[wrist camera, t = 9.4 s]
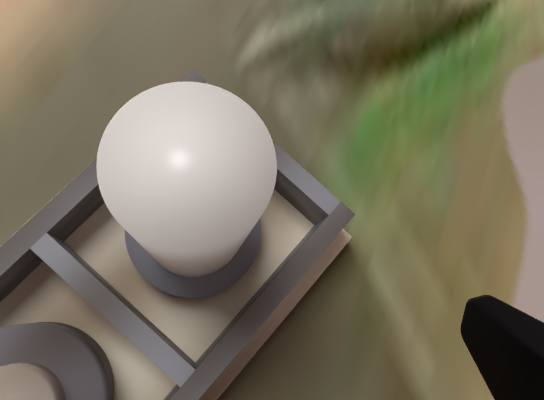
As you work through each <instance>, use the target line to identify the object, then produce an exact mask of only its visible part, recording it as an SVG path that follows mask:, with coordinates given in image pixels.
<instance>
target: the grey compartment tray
mask: <svg viewBox="0 0 544 400" xmlns="http://www.w3.org/2000/svg"><path fill="white" fill-rule="evenodd" d="M184 81H188V82H200V83H205V84H209V83H208V82H207V81H206V80H205V79H204V78H202V77H201V76H200V75H199V74H198V73H197V72H196V71H195V70H192V71H191V72H190V73H189V74H188V75H187V76H185V77H184V78H183V79H182V80H181V81H180V82H184ZM272 141H273V140H272ZM273 145H274V148H275V153H276V160H277V175H276V183H275V187H274V190H273V194H272V196H271V199H270V201H269V204H268V205H267V207H266V209H265V211H264V212H263V214H262V215H261V217H260V221H261V240H260V245H259V249H258V252H257V254H256V257H255V259H254V261H253V263H252V264H251V266H250V268H249V269H248V270H247V272H246V273H245V274H244V275H243V276H242V277H241V278H240V279H239V280H238V281H237V282H235V283H234V284H233V285H232V286H230V287H229V288H227V289H225V290H223V291H222V292H219V293H217V294H214V295H211V296H207V297H202V298H184V297H178V296H174V295H171V294H169V293H166V292H164V291H161V290H160V289H158V288H156V287H155V286H153V285H152V284H150V283H149V282H148V281H147V280H146V279H145V278H144V277H143V276H142V275H141V274H140V273H139V272H138V270H137V269H136V268H135V266H134V264H133V263H132V261H131V259H130V256H129V254H128V251H127V247H126V242H125V229H124V228H123V227H122V226H121V225H120V224H119V223H118V222H117V221H116V219H115V218H114V217H113V215H112V214H111V213H110V211H109V209H108V208H107V206H106V204H105V202H104V200H103V197H102V195H101V192H100V189H99V184H98V180H97V169H96V164H97V158H96V159H95V160H94V161H93V162H92V163H91V164H89V165H88V166H87V167H86V168H85V169H84V170H83V171H82V172H81V173H80V174H79V175H78V176H76V177H75V178H74V179H73V180H72V181H71V182H70V183H69V184H68V185H67V186H66V187H64V188H63V189H62V190H61V191H60V192H59V193H58V194H57V195H56V196H55V197H54V198H53V199H51V200H50V201H49V202H48V203H47V204H46V205H45V206H44V207H43V208H42V209H41V210H39V211H38V212H37V213H36V214H35V215H34V216H33V217H32V218H31V219H30V220H29V221H28V222H26V223H25V224H24V225H23V226H22V227H21V228H20V229H19V230H18V231H17V232H16V233H14V234H13V235H12V236H11V237H10V238H9V239H8V240H7V241H6V242H5V243H4V244H2V245H1V246H0V400H217V399H218V398H219V397H220V396H221V394H222V393H223V392H224V391H225V390H226V388H227V387H228V386H229V385H230V384H231V382H232V381H233V380H234V379H235V378H236V376H237V375H238V374H239V373H240V372H241V370H242V369H243V368H244V367H245V366H246V364H247V363H248V362H249V361H250V360H251V358H252V357H253V356H254V355H255V354H256V352H257V351H258V350H259V349H260V348H261V346H262V345H263V344H264V343H265V341H266V340H267V339H268V338H269V337H270V335H271V334H272V333H273V332H274V331H275V329H276V328H277V327H278V326H279V325H280V323H281V322H282V321H283V320H284V319H285V317H286V316H287V315H288V314H289V313H290V311H291V310H292V309H293V308H294V307H295V305H296V304H297V303H298V302H299V301H300V299H301V298H302V297H303V296H304V295H305V293H306V292H307V291H308V290H309V289H310V287H311V286H312V285H313V284H314V283H315V281H316V280H317V279H318V278H319V276H320V275H321V274H322V273H323V272H324V270H325V269H326V268H327V267H328V266H329V264H330V263H331V262H332V261H333V260H334V258H335V257H336V256H337V255H338V254H339V252H340V251H341V250H342V249H343V248H344V246H345V245H346V244H347V243H348V242H349V240H350V239H351V238H352V237H351V236H350V235H349V234H348V233H347V232H346V231H345V230H344V229H343V228H344V227H345V226H346V224H347V223H348V222H349V221H350V220H351V218H352V217H353V216H354V215H355V214H354V213H353V212H352V211H351V210H350V209H349V208H347V207H346V206H345V205H344V204H343V203H342V202H341V201H340V200H339V199H337V198H336V197H335V196H334V195H333V194H332V193H331V192H330V191H328V190H327V189H326V188H325V187H324V186H323V185H322V184H321V183H320V182H318V181H317V180H316V179H315V178H314V177H313V176H312V175H311V174H310V173H308V172H307V171H306V170H305V169H304V168H303V167H302V166H301V165H299V164H298V163H297V162H296V161H295V160H294V159H293V158H292V157H291V156H289V155H288V154H287V153H286V152H285V151H284V150H283V149H282V148H281V147H279V146H278V145H277V144H276V143H275V142H274V141H273Z"/></svg>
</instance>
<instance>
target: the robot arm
mask: <svg viewBox="0 0 544 400" xmlns="http://www.w3.org/2000/svg"><path fill="white" fill-rule="evenodd" d="M461 335H462V338H463V340H464V342H465V344H466V346H467V348H468V350H469V352H470V354H471V356H472V357H473V359H474V361H475V363H476V365H477V367H478V369H479V371H480V373H481V375H482V377H483V378H484V380H485V382H486V384H487V386H488V388H489V390H490V392H491V394H492V396H493V398H494V399H495V400H544V323H543V322H541V321H539V320H537V319H535V318H533V317H532V316H529V315H528V314H526V313H524V312H522V311H520V310H518V309H516V308H514V307H512V306H510V305H508V304H506V303H505V302H503V301H501V300H499V299H497V298H495V297H493V296H490V295H483V296H479V297H475V298H471V299H469V300H468V301H467V303H466V306H465V311H464V315H463V319H462V323H461Z"/></svg>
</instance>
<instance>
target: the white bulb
mask: <svg viewBox="0 0 544 400" xmlns="http://www.w3.org/2000/svg"><path fill="white" fill-rule="evenodd" d="M96 169H97V180H98V184H99V189H100V192H101V195H102V197H103V200H104V202H105V204H106V206H107V208H108V209H109V211H110V213H111V214H112V215H113V217H114V218H115V219H116V221H117V222H118V223H119V224H120V225H121V226H122V227H123V228H124V229H125V242H126V247H127V251H128V254H129V256H130V259H131V261H132V263H133V264H134V266H135V268H136V269H137V270H138V272H139V273H140V274H141V275H142V276H143V277H144V278H145V279H146V280H147V281H148V282H149V283H150V284H152V285H153V286H155V287H156V288H158V289H160V290H161V291H164V292H166V293H169V294H171V295H174V296H178V297H184V298H202V297H207V296H211V295H214V294H217V293H219V292H222V291H223V290H225V289H227V288H229V287H230V286H232V285H233V284H234V283H235V282H237V281H238V280H239V279H240V278H241V277H242V276H243V275H244V274H245V273H246V272H247V270H248V269H249V268H250V266H251V264H252V263H253V261H254V259H255V257H256V254H257V252H258V249H259V245H260V240H261V221H260V217H261V215H262V214H263V212H264V211H265V209H266V207H267V205H268V204H269V201H270V199H271V196H272V194H273V190H274V187H275V183H276V175H277V160H276V153H275V148H274V145H273V141H272V138H271V136H270V134H269V131H268V129H267V128H266V126H265V124H264V123H263V121H262V120H261V118H260V117H259V116H258V115H257V113H256V112H255V111H254V110H253V109H252V108H251V107H250V106H249V105H248V104H247V103H245V102H244V101H243V100H242V99H240V98H239V97H237V96H236V95H234V94H232V93H231V92H229V91H226V90H224V89H222V88H220V87H216V86H213V85H210V84H205V83H200V82H188V81H184V82H172V83H167V84H162V85H159V86H156V87H153V88H150V89H148V90H146V91H144V92H142V93H140V94H139V95H137V96H135V97H134V98H132V99H131V100H130V101H128V102H127V103H126V104H125V105H123V107H122V108H121V109H120V110H119V111H118V112H117V113H116V114H115V115H114V117H113V118H112V119H111V121H110V122H109V124H108V126H107V128H106V129H105V131H104V133H103V136H102V139H101V141H100V144H99V149H98V153H97V164H96Z"/></svg>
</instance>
